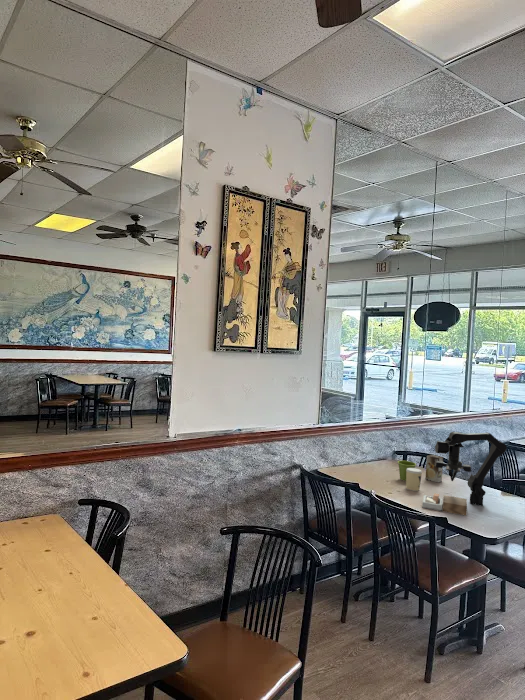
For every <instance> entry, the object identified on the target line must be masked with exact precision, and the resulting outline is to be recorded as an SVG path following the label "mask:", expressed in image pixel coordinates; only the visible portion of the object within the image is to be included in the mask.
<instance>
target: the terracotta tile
mask: <svg viewBox="0 0 525 700" xmlns="http://www.w3.org/2000/svg"><path fill="white" fill-rule="evenodd" d="M432 497H433V500H435V501H436V504H438V502H439V498H440V493H437V492H436V493H435V492H434V493H433V495H432Z"/></svg>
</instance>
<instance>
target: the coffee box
mask: <svg viewBox="0 0 525 700" xmlns="http://www.w3.org/2000/svg"><path fill="white" fill-rule="evenodd" d="M436 461H443V462H444V457H443V456H439V455H436V454H429V455H426V464H425V467H426V468H425V478H424V479H425V480H427V479H428V481H430V480H431V481H432V482H435V483H441V482H442V481H443V469H444V467H442V468H437V467H436Z"/></svg>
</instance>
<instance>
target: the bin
mask: <svg viewBox="0 0 525 700" xmlns="http://www.w3.org/2000/svg"><path fill="white" fill-rule="evenodd" d="M427 497H429V498H431V499H433V495H432V496H431V495H425V494H424V495H423V498H422V503H421V504H422V506H421V507H422V508H424V509H429V510H434V511H439V512H443V511H442V509H443V497H439V502H438V504H434V503H428V502H425V501H426V498H427Z"/></svg>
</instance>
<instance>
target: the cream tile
mask: <svg viewBox="0 0 525 700" xmlns="http://www.w3.org/2000/svg"><path fill="white" fill-rule="evenodd" d="M425 502H428V503H434V504H436V501H435V500H433V499H431V498H429V497H427V498H426V501H425Z"/></svg>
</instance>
